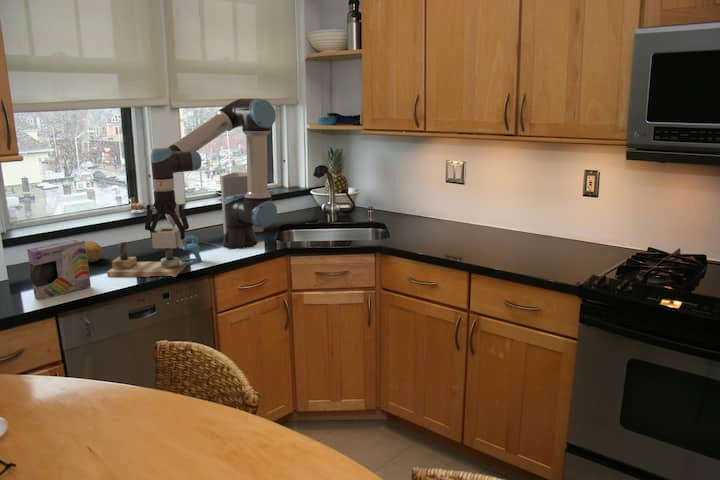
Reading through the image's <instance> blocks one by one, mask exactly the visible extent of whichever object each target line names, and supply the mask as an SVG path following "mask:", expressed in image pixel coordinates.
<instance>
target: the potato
mask: <svg viewBox="0 0 720 480" xmlns="http://www.w3.org/2000/svg"><path fill="white" fill-rule="evenodd" d="M85 245H86V252H87V260H88V263H95V262H97V261H99V259H100V258H101V256H102V255H103V251H104V250H103V248H102V246H101V245H99V244H98V243H97V242H96V241H92V240H86V241H85Z"/></svg>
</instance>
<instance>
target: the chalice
mask: <svg viewBox="0 0 720 480" xmlns="http://www.w3.org/2000/svg"><path fill="white" fill-rule="evenodd" d="M176 204H178V203H177V202H176ZM174 210H175V212H176V215H177V216H178V218H179V219H180V214H179V210H178V209H177V207H176V208H175V209H174ZM164 215H165V217H166V220H167V222H168V224H169V225H171V227H172V228H176V224H175V222H174V220H173V218H172V217H171V216H170V214H164Z"/></svg>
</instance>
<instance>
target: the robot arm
mask: <svg viewBox="0 0 720 480" xmlns="http://www.w3.org/2000/svg"><path fill="white" fill-rule="evenodd" d="M276 119H277V115H276V109H275V107H274V105H273V104H271V102H270V100H267V99H263V98H257V97H256V98H239V99H235V100H233V101H232V102H230V103H228V104H226V105H225V106H223V107H222V108H220V109H218V110H217V111H216V112H215V115H214V116H213V117H211V118H210V119H208V120H207V121H205V122H204V123H201V125H199V126H198V127H196V128H195V129H193V130H192V131H190V132H189V133H187V134H186V135H184V136H183V137H181V138H180V139H179V140H177V141H175V142H174V143H173V144H171V145H169V146H168V147H159V148H158V147H157V148H152V149H151V151H150V163H151V172H152V173H151V174H152V188H153V190H154V191H153V199H154V203H149V204H147V205H145V206H146V217H145V226H144V230H145V231H149V234H150V239H151V241H152V234H151V233H152V232H153V231H155V230H156V227H157V225H158V223H159V221H160V218H161V216H162V215H165V214H170V216H171V217H172V218H173V220H174V222H175V226H176V228H178V229H179V230H180V231H179V232H178V241H179V246H178V249H182V247H183V245H184V243H183V240H184V239H185V234H186V231H187V230H188V229H189V228H190V225H189V222H188V218H187V216H186V213H185V205H184V203H177V201H176V193H175V191H176V190H175V189H174V188H175V181H174V174H177V173H184V172H194V171H198V170H199V169H200V168H201V167H202V164H203V163H202V156H201V154H200V153H199V152H198V151H199V150H200V149H202V148H203V147H205V146H206V145H207V144H209V143H211V142H212V141H213V140H215V139H216V138H218V137H219V136H221V135H222V134H223V133H225V132H231V131H232V130H234V129H236V128H239V127H240V128H242V133H243V134H244V135H245V137H246V139H245V141H246V173H247V190H248V192H247V193H246V194H237V195H230V196H227V197H226V198H225V205H224V206H225V215H226V232H225V234H224V237H223V242H222V243H223V244H222V245H223V247H224V248H226V249H234V250H236V249H237V250H241V249H248V248H253V247H255V246H257V245H258V238H257V236H256V232H254V230H253V226H255V227H262V228H264V229H265V228H267V227H269V226H271V225H272V224H273V222H275V221H276V218H277V215H278V209H277V205H275V203H274V202H272V195H271V193H269V191H268V190H269V189H268V188H269V187H268V183H269V182H268V135H269V134H270V133H271V127H272V126H273V125H274V123H275V121H276ZM176 203H177V204H176ZM176 207H177V209H178V210H179V214H180V215H179V218H178V216H177V215H176V212H175V210H174V209H175V208H176ZM154 209H155V210H156V213H155V215H154V218H153V221H152V217H153V210H154ZM180 219H181V220H180ZM154 249H157V248H154Z"/></svg>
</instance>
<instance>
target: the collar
mask: <svg viewBox="0 0 720 480" xmlns="http://www.w3.org/2000/svg"><path fill="white" fill-rule="evenodd" d="M179 231H180V230H179V229H178V227H175V228H173V227H158V228H157V229H156V228H155V231H153V232H152V233H151V234H152V240H151V243H152V245H151V246H152V249H155V248H156V249H165V248H173V249H177V248H179V241H178V232H179ZM183 244H184V241H183Z"/></svg>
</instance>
